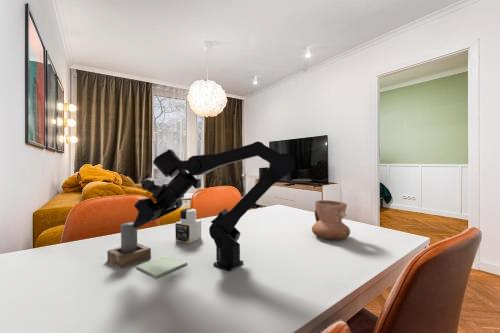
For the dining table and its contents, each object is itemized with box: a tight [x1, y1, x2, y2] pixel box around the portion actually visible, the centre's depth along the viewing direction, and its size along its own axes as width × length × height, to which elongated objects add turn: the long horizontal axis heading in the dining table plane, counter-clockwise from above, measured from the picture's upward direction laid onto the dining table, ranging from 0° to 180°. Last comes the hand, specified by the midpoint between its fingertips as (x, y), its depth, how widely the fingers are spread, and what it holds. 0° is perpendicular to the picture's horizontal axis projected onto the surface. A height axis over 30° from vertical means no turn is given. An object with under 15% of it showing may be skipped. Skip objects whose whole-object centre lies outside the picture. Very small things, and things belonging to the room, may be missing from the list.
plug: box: [120, 221, 138, 255], centre depth 73 cm, size 4×4×11 cm
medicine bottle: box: [174, 207, 202, 244], centre depth 91 cm, size 7×7×12 cm
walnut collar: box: [106, 242, 152, 269], centre depth 73 cm, size 9×9×3 cm
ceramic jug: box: [311, 199, 351, 241], centre depth 93 cm, size 18×14×14 cm
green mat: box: [135, 254, 188, 279], centre depth 67 cm, size 10×10×1 cm
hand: (143, 223), depth 72 cm, fingers open, 9 cm apart
